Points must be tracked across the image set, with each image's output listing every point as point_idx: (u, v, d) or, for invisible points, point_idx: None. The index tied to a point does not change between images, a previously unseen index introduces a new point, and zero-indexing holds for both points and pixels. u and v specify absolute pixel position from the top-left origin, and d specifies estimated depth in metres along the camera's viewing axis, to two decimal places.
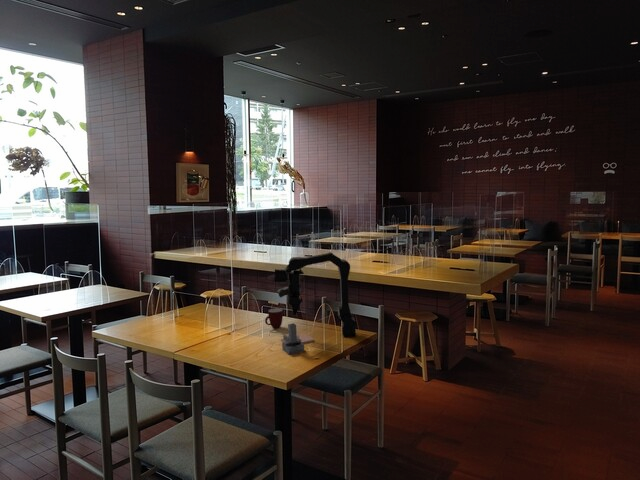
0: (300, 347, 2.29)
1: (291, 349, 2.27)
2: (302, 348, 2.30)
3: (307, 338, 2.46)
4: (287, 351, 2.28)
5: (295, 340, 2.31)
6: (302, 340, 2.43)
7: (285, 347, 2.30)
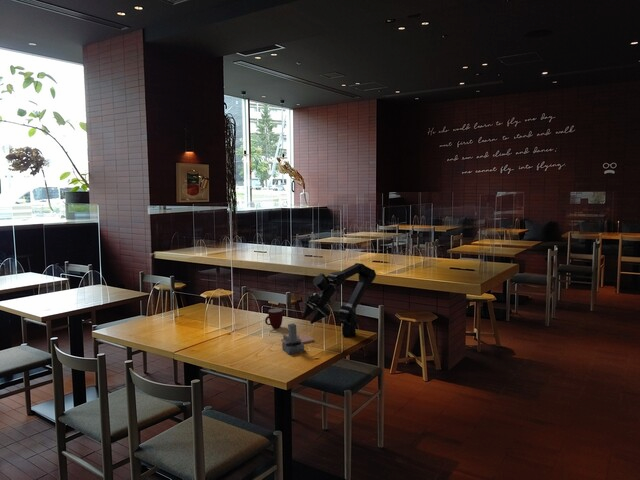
0: (300, 347, 2.29)
1: (291, 349, 2.27)
2: (302, 348, 2.30)
3: (307, 338, 2.46)
4: (287, 351, 2.28)
5: (295, 340, 2.31)
6: (302, 340, 2.43)
7: (285, 347, 2.30)
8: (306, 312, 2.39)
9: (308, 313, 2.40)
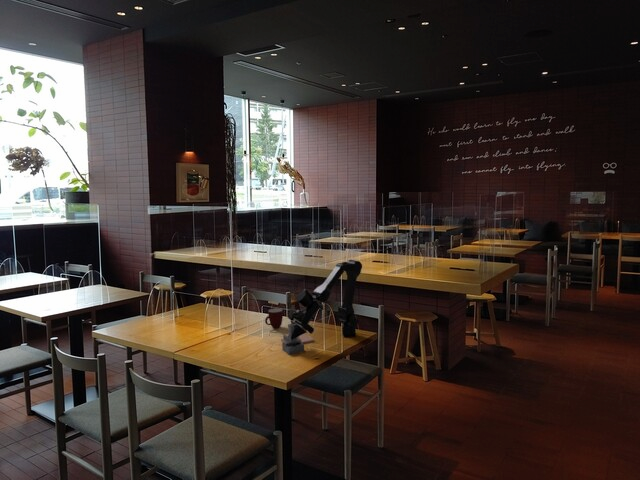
0: (300, 347, 2.29)
1: (291, 349, 2.27)
2: (302, 348, 2.30)
3: (307, 338, 2.46)
4: (287, 351, 2.28)
5: (295, 340, 2.31)
6: (302, 340, 2.43)
7: (285, 347, 2.30)
8: None
9: None
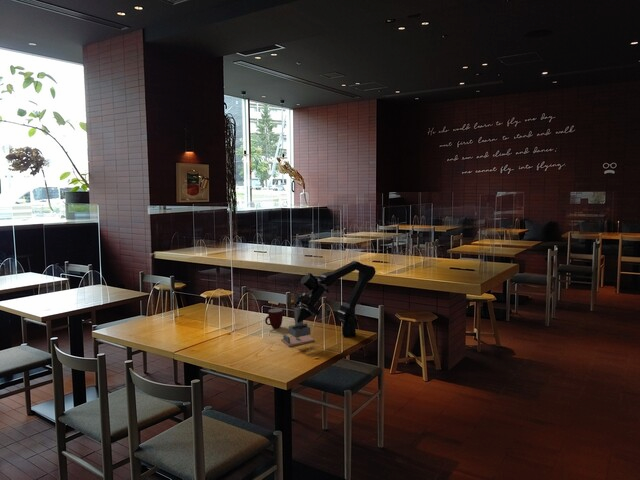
0: (306, 330, 2.34)
1: (298, 332, 2.31)
2: (309, 331, 2.34)
3: (307, 338, 2.46)
4: (294, 334, 2.32)
5: (301, 323, 2.35)
6: (302, 340, 2.43)
7: (292, 330, 2.34)
8: None
9: None
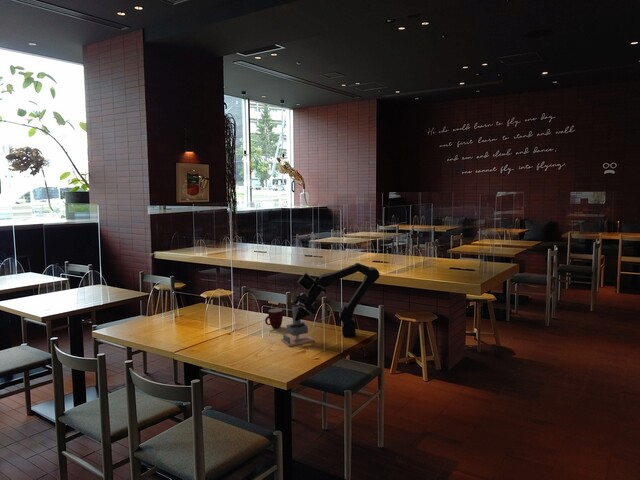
0: (304, 329, 2.42)
1: (295, 330, 2.40)
2: (306, 329, 2.42)
3: (307, 338, 2.46)
4: (291, 332, 2.41)
5: (299, 322, 2.43)
6: (302, 340, 2.43)
7: (289, 329, 2.42)
8: None
9: None
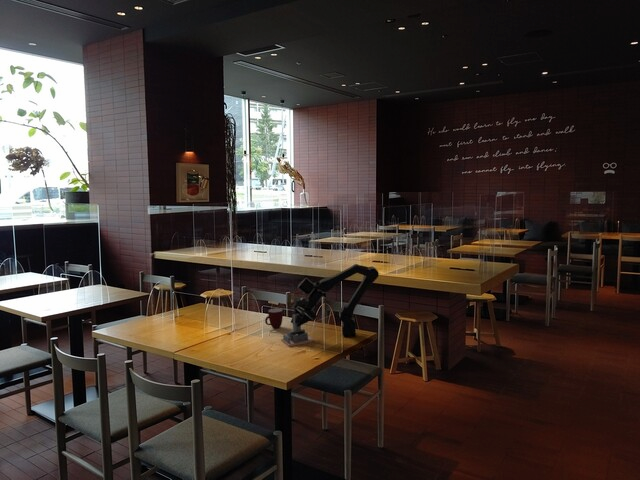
0: (304, 336, 2.42)
1: (295, 338, 2.40)
2: (306, 337, 2.43)
3: None
4: (292, 339, 2.41)
5: (299, 329, 2.43)
6: None
7: (290, 336, 2.43)
8: None
9: None
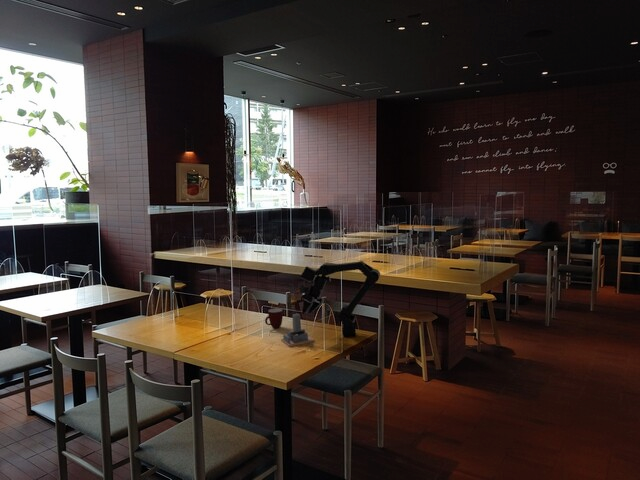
0: (304, 336, 2.42)
1: (295, 338, 2.40)
2: (306, 337, 2.43)
3: None
4: (292, 339, 2.41)
5: (299, 329, 2.43)
6: None
7: (290, 336, 2.43)
8: (311, 307, 2.55)
9: (313, 307, 2.55)
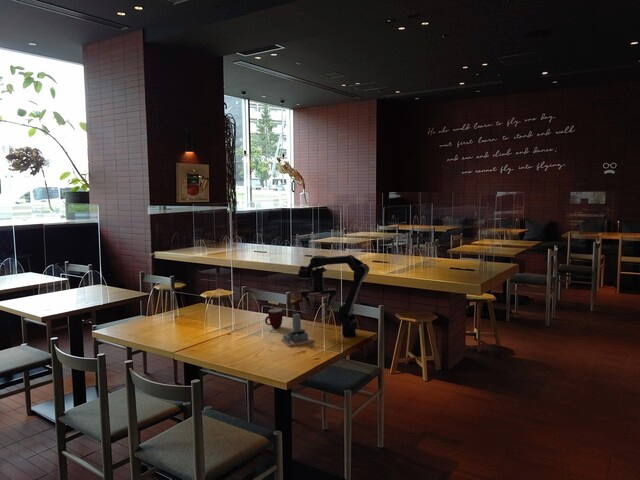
0: (304, 336, 2.42)
1: (295, 338, 2.40)
2: (306, 337, 2.43)
3: None
4: (292, 339, 2.41)
5: (299, 329, 2.43)
6: None
7: (290, 336, 2.43)
8: (327, 301, 2.57)
9: (327, 301, 2.55)
